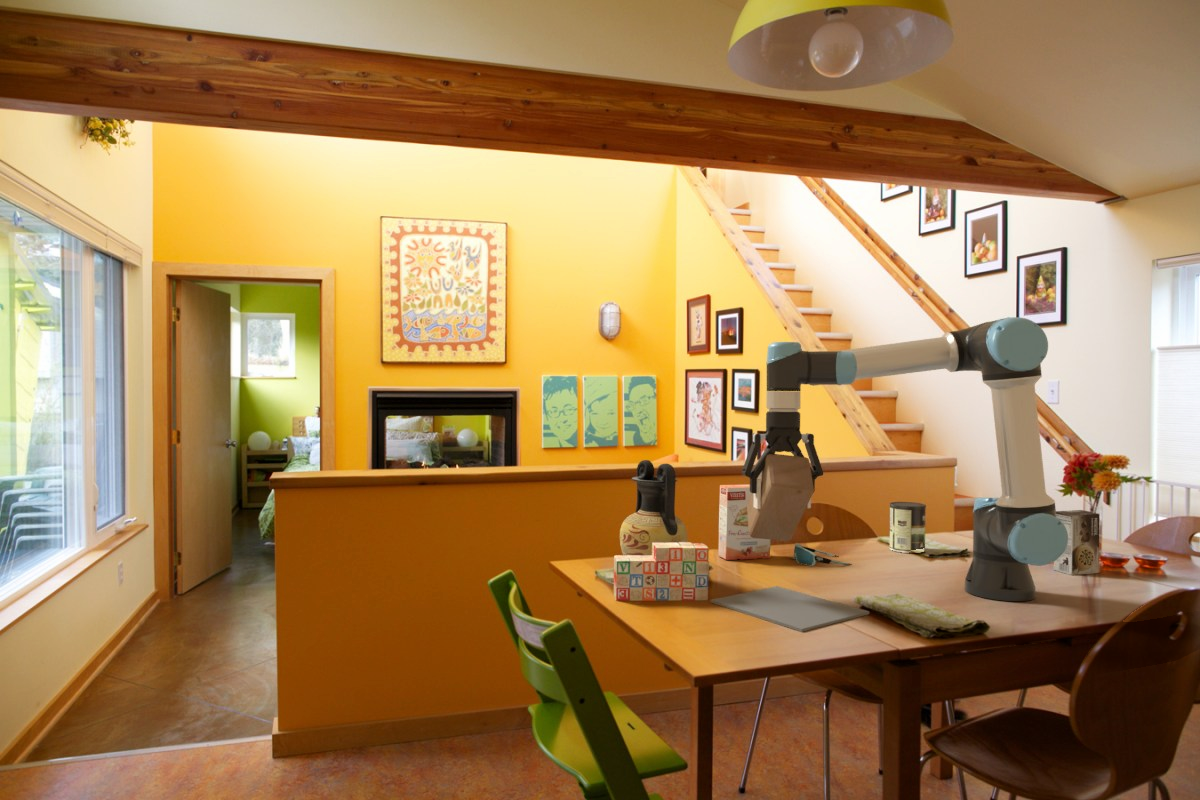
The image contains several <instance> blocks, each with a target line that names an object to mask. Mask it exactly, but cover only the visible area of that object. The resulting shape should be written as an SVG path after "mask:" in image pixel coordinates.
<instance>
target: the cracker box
mask: <svg viewBox="0 0 1200 800" xmlns="http://www.w3.org/2000/svg"><path fill="white" fill-rule="evenodd" d="M750 496H751V492H750V484H720V485H719V502H718V503H719V505H718V507H719V509H718V554H717V555H718V557H719V558H721V559H724V560H725V561H736V560H737V559H740V560H758V559H757V558H763V559H770V558H771V540H769V539H760V538H752V537H750V534H749V525H748V514H747V504H748V501H749V498H750Z"/></svg>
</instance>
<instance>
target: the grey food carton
mask: <svg viewBox="0 0 1200 800" xmlns="http://www.w3.org/2000/svg"><path fill="white" fill-rule="evenodd" d="M1056 517H1057V518H1058V519H1059V520H1060V521H1061V522H1062V523H1063V524H1064V525H1065V527H1066V529H1067V532H1068V544H1067V547H1066V549H1065V551H1064V553H1063V554H1062V555H1061V556H1060V557H1059V558H1058V559H1057V560H1056V561H1054V562H1053V570H1054V571H1057V572H1060V573H1063V574H1067V575H1069V576H1078V575H1079V576H1080V575H1090V574H1091V575H1092V574H1099V573H1100V517H1101V516H1100V513H1098V512H1092V511H1088V510H1084V509H1083V510H1082V509H1078V510H1075V509H1073V510H1061V511H1060V510H1059V511H1057V510H1056Z"/></svg>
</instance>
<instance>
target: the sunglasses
mask: <svg viewBox="0 0 1200 800" xmlns="http://www.w3.org/2000/svg"><path fill="white" fill-rule="evenodd" d="M816 553H817V554H822V555H825V556H829V557H832V556H835V557H834V558H839V557H840V556H839V555H835V554H832V553H830V552H827V551H826V552H825V551H822V550H819V549H815V548H811V547H806V546H802V544H800V543H798V542H796V543H794V550H793V556H792V560H793V559H796V560H795V561H796V562H797V563H798V562H799V563H798V564H801V563H802V564H801V565H804V564H807V565H806V566H809V565H811V566H810V567H813V566H815V565H816V563H817V562H818V563H822V564H826V565H830V564H831V563H833V564H836V565H842V566H852V565H853V564H852V563H849V562H848V563H847V562H843V561H838V560H834V559H830V558H826V557H823V556H819V555H817V554H816ZM795 557H796V558H795Z"/></svg>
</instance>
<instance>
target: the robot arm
mask: <svg viewBox="0 0 1200 800" xmlns="http://www.w3.org/2000/svg"><path fill="white" fill-rule="evenodd" d="M1048 351H1049V341H1048V337H1047V335H1046V333H1045V332H1044V330H1043V328H1042V327H1041V326H1040V325H1039V324H1037V323H1036V322H1035V321H1033V320H1030V319H1028V318H1025V317H1019V316H1018V317H1013V316H1011V317H1010V316H1009V317H1004V318H1000V319H996V320H992V321H986V322H983V323H979V324H976V325H973V326H969V327H966V328H963V329H959V330H954V331H947V332H944V333H943V335H942V336H940V337H939V336H938V337H933V338H932V337H931V338H924V339H917V340H909V341H903V342H896V343H895V342H894V343H889V344H880V345H873V346H865V347H858V348H850V349H844V350H841V349H840V350H833V351H831V350H830V351H829V350H826V351H825V350H824V351H822V350H819V351H816V350H815V351H808V350H803V348H802V345H801V342H798V341H776V342H775V341H773V342H771V343H769V345H768V346H767V351H766V352H767V355H766V398H765V399H766V403H765V404H766V406H765V407H766V409H767V410H768V411H766V415H765V416H766V417H765V433H755V432H754V433H752V434H751V445H750V447H749V451H748V454H747V456H746V459H745V461H744V465H743V467H742V470H741V474H742V476H745V477H747V478H748V479H749V485H750V492H751V493H754V504H753V507H755V508H757V509H761V480H760V479H757V478H758V476H759V475H760V473H761V472H762V470H763V469H764V467H765V460H766V457H767V455H769V454H776V453H783V452H785V453H791V454H792V456H798V457H805V456H804V454H803V452H802V450H801V448H800V447H799V445H798V444H799V443H800V442H801V440H802V442H803V444H804V447H805V450H806V452H807V455H808V459H809V463H810V469H811V475H812V481H813V487H814V492H813V494H814V493H815V489H816V488H815V487H816V479H817V478H818V477H822V476H823V475H824V470H823V468H822V465H821V462H820V459H819V456H818V455H819V454H818V452H817V449H816V446H815V434H813V433H808V432H807V433H801V413H800V411H798V410H800V409H801V391H802V390H801V389H802V388H801V385H808V386H809V385H810V386H813V387H814V386H819V385H820V386H824V385H826V386H828V385H829V386H831V385H832V386H833V385H835V386H843V385H852V384H853V383H855V381H858V380H867V379H873V378H882V377H889V376H897V375H905V374H914V373H921V372H922V373H923V372H927V371H928V372H930V371H935V370H937V371H938V370H945V369H946V370H947V371H948V372H950V373H954V372H964V371H968V372H969V371H970V372H971V371H973V372H981V377H982V383H984V384H985V385H986V386H988V387H989V388H990V389H991V393H990V394H991V400H992V409H993V411H992V412H993V417H994V418H993V420H994V427H995V428H994V429H995V437H996V438H995V439H996V445H997V446H996V448H997V457H998V459H997V460H998V466H999V475H1000V476H999V477H1000V486H1001V496H1000V497H978V498H977V497H976V499H975V500H974V503H973V510H972V514H973V520H972V522H973V523H972V524H973V527H972V528H973V529H972V530H973V531H972V533H973V534H972V535H973V537H972V543H973V545H972V551H973V552H972V561H971V563H970V566H969V568H968V571H967V573H966V576H965V580H964V591H965V592H966V593H968V594H971V595H973V596H976V597H980V598H984V599H989V600H995V601H1004V602H1026V601H1027V602H1028V601H1033V600H1034V599H1036V593H1037V592H1036V590H1037V589H1036V585H1035V582H1034V580H1033V576H1032V573H1031V570H1030V567H1029V566H1036V567H1038V566H1039V567H1042V566H1046V565H1050V564H1051V563H1054V561H1056V560H1057V559H1058V558H1059V557H1060V556H1061V555H1062V554H1063V553H1064V551H1065V549H1066V547H1067V544H1068V532H1067V529H1066V527H1065V525H1064V524H1063V523H1062V522H1061V521H1060V520H1059V519H1058V518H1057V517H1056V511H1057V509H1056V501H1055V499H1053V497H1051V496H1050V495H1048V493H1047V490H1046V481H1045V472H1044V463H1043V454H1042V453H1043V452H1042V445H1041V443H1042V442H1041V434H1040V432H1041V431H1040V425H1039V423H1040V422H1039V417H1038V416H1039V415H1038V404H1037V396H1036V384H1037V382H1039V380H1040V379H1041V378H1042V377H1043V376H1042V366H1041V364H1042V363H1043V361H1044V359H1045V358H1046V356H1047V354H1048ZM764 440H765V442H766V443H767V445H766V447H765V448H764V451H763V452H762V454H761V456H760V457H759V458H758V460H757V462H756V458H757V456H758V453H759V450H760V447H761V444H762V443H763V442H764ZM755 462H756V463H755ZM811 508H812V497H811V498H810V500H809V503H808V505H807V507H806V509H811Z"/></svg>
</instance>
